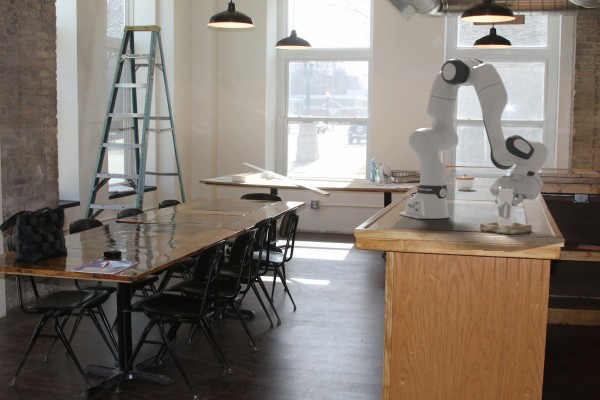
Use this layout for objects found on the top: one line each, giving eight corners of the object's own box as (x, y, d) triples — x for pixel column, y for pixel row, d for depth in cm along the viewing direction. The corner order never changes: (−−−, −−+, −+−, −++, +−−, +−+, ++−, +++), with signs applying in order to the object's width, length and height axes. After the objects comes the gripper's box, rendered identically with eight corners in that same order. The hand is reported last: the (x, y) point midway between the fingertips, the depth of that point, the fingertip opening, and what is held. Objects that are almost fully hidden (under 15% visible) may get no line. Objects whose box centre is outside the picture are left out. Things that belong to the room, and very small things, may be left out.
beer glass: (501, 227, 283) (503, 188, 281) (492, 224, 290) (494, 186, 288) (517, 227, 284) (520, 188, 282) (509, 224, 291) (511, 186, 289)
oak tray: (480, 230, 288) (480, 223, 288) (502, 227, 296) (503, 220, 296) (508, 235, 278) (509, 228, 277) (531, 231, 286) (531, 224, 285)
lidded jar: (472, 189, 447) (473, 173, 446) (475, 191, 437) (475, 175, 436) (454, 189, 449) (454, 173, 447) (456, 190, 438) (456, 175, 437)
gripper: (497, 170, 297) (480, 196, 292) (540, 173, 281) (523, 201, 276) (503, 181, 300) (487, 207, 295) (547, 184, 284) (530, 212, 279)
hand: (505, 204), depth 286 cm, fingers closed on beer glass, 6 cm apart
